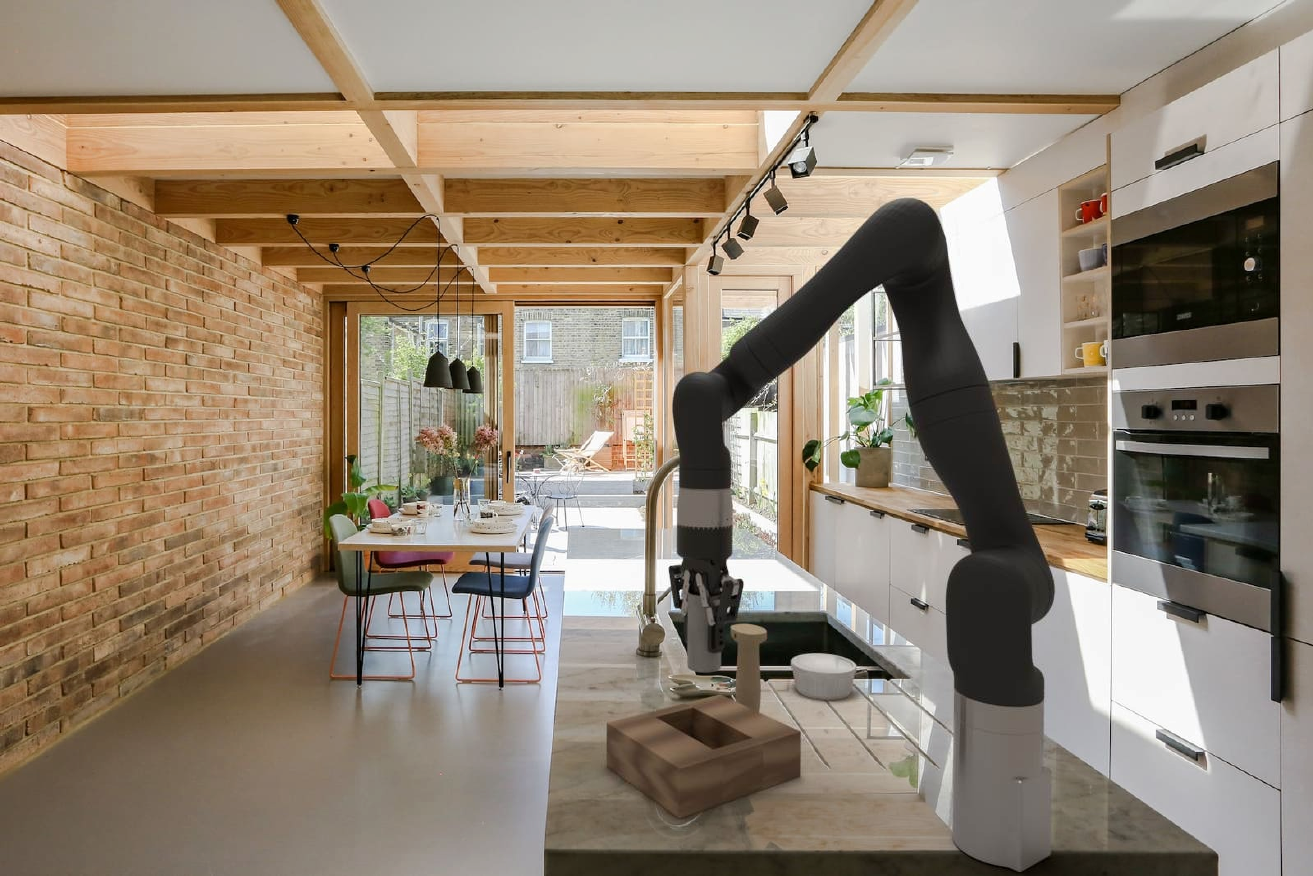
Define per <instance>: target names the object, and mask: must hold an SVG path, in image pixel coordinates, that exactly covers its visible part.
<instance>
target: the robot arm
mask: <svg viewBox="0 0 1313 876" xmlns="http://www.w3.org/2000/svg"><path fill="white" fill-rule="evenodd" d="M948 248H949V247H948V241H947V238H946V235H945V233H944V229H943V226H942V223H941V221H940V219H939V216H938V215H937V213H936V211H935V209H934V208H933V207H932V206H930V204H928V203H927V202H925V201H924V200H921V199H917V198H914V197H903V198H901V197H900V198H895V199H893V200H891V201H888V202H886V203H885V204H883V205H882V206H880V207H879V208H878V209H876V210H875V212H873V213H872V214H871V216H869V218H867V219H866V220H865V222H863V223H862V224H861V225H860V227H859V228H858V229H857V230H856V231H855V232H854V234H853V235H852V236H851V237H850V238H849V239H848V240H847V241H846V242H845V243H844V244H843V245H842V247H840V249H838V251H837V252H836V253H835V254H834V255H832V257H831V258H830V259H829V260H828V261H827V262H826V263H825V264H824V265H823V266H822V267H821V268H820V269H819V270H818V271H817V272H816V273H814V275H813V276H812V277H811V278H810V279H809V280H808V281H806V282H805V284H803V285H802V286H801V288H799V289H798V290H797V291H796V292H794V294H792V295H791V296H790V297H789V298H788V299H787V300H785V301H784V302H783V303H782V304H781V305H780V306H778V307H777V308H776V309H775V310H773V311H772V312H771V313H770V314H768V315H767V316H766V317H765V318H764V319H762V320H760V322H758V323H757V324H756V325H755V326H753V327H752V328H751V329H749V330H748V331H746V333H744V335H742V336H741V337H740V338H739V339H737V340H736V342H734V343H733V344H732V345H731V347H730V349H729V351H728V352H729V353H728V354H729V355H727V357H725V358H724V359H723V360H722V361H721V362H720V363H718V364H717V365H716V366H715V367H714V368H713V369H711V370H710V371H709V372H704V371H694V372H691V373H690V372H689V373H688V374H686V375H684V376H682V378H681V379H679V381H678V382H677V384H676V385H675V388H674V391H673V396H672V404H671V408H672V421H673V428H674V432H675V433H674V434H675V441H676V445H677V447H678V453H679V460H678V461H679V462H678V467H679V468H678V495H677V501H676V502H677V503H676V554H677V556H679V557H680V558H682V561H681V563H680V564H675V565H669V567H668V576H669V583H670V587H671V588H670V589H671V596H672V601H673V602H672V603H673V607H674V608H675V609H676V610H677V609H679V610H680V612H681V613H680V614H681V615H682V616H683V636H684V642H685V643H686V644H688V591H690V592H692V594H696V595H701V601H702V606H703V607H704V608H705V609H706V611H707V617H708V622H709V624H710V625H708V651H709V652H711V653H718V652H721V653H722V652H723V651H724V649H725V646H726V624H727V623H731V622H735V621H737V620H738V613H739V609H740V604H741V600H742V599H741V598H742V595H743V590H744V585H745V583H744V580H743V579H742V578H733V577H732V576H731V575H730V573H729V572H730V571H729V568H728V565H727V563H728V559H729V558H730V557H731V556H732V555H733V533H734V532H733V526H734V525H733V523H734V521H733V520H734V519H733V518H734V517H733V515H734V514H733V513H734V512H733V511H734V508H733V507H734V506H733V505H734V504H733V498H732V457H731V456H732V455H731V452H730V450H729V448H728V447H727V446H726V445H725V439H724V424H723V423H724V422H725V421H727V420H729V419H730V418H732V417H733V416H735V415H736V414H737V413H738V412H739V411H741V410H742V409H744V407H745V406H746V405H747V404H749V402H750V401H751V400H752V399H753V398H754V397H755V396H756V395H757V394H758V393H759V392H760V391H761V389H763V388H764V387H765V386H766V385H768V384H770V383H771V382H773V381H774V380H775V379H777V378H778V377H780V376H781V375H782V374H783V373H784V372H786V371H788V370H789V369H790V368H791V367H793V365H795V364H797V363H798V362H799V361H800V360H801V359H802V358H804V357H805V356H806V355H807V354H808V353H809V352H811V350H812V349H813V348H814V347H815V346H816V345H817V344H818V343H819V342H820V341H821V340H822V338H823V337H824V336H825V335H826V334H827V332H828V331H829V330H830V329H831V328H832V326H833V325H834V324H835V323H836V322H837V321H838V319H840V318H841V317H842V315H843V314H844V313H845V312H847V310H849V309H850V308H851V307H852V306H853V305H855V303H856V302H858V301H859V300H860V299H862V298H863V297H864V296H865V295H867V294H868V293H870V292H871V291H873V290H874V289H876V288H878V287H879V286H881V285H882V287H883V289H884V293H885V295H886V297H887V299H888V302H889V306H890V308H891V310H892V312H893V315H894V319H895V321H896V325H897V327H898V332H899V339H900V345H901V347H900V348H901V358H902V359H901V361H902V373H903V381H904V387H905V388H904V389H905V394H906V399H907V404H908V408H909V411H910V415H911V419H912V423H913V426H914V429H915V434H916V436H917V437H916V438H917V439H918V442H919V445H920V448H921V450H922V452H923V454H924V456H925V457H926V459H927V461H928V462H929V464H930V466H931V467H932V469H933V470H934V472H935V474H936V475H937V476H938V478H939V479H940V481H941V482H942V484H943V485H944V488H945V489H947V491H948V493H949V494H950V495H951V497H952V499H953V501H954V503H955V505H956V506H957V508H958V511H959V513H960V516H961V518H962V519H961V520H962V521H963V525H964V529H965V532H966V535H967V541H968V546H969V549H970V550H969V551H970V554H967V555H964V556H963V557H962V558H960V559H959V560H958V561H957V562H956V563H955V564H954V566H953V567H952V569H951V571H950V572H949V575H948V579H947V584H946V591H945V624H946V625H945V630H946V632H945V634H946V652H947V660H948V664H949V666H950V668H951V671H952V674H953V727H952V728H953V729H952V730H953V731H952V732H953V733H952V735H953V738H952V739H953V740H952V741H953V742H952V743H953V744H952V747H953V748H952V814H951V816H952V818H951V819H952V822H951V823H952V825H951V826H952V830H951V832H952V834H951V836H952V840H953V843H954V844H955V846H957V847H958V849H960V850H961V851H962V852H964V853H965V854H966V855H968V856H970V857H972V858H974V859H976V860H979V861H981V862H983V863H987V864H991V865H994V866H999V867H1006V868H1009V869H1012V870H1014V871H1015V872H1019V873H1022V872H1023V871H1025V870H1026V869H1028V868H1029V869H1030V867H1032V866H1034V865H1035V864H1037V863H1039V862H1041V861H1042V860H1044V859H1046V858H1048V857H1050V856H1051V851H1052V849H1051V846H1052V843H1051V842H1052V840H1051V839H1052V837H1051V836H1052V786H1053V785H1052V782H1053V781H1052V780H1053V779H1052V778H1053V776H1052V774H1053V772H1052V769H1051V768H1050V767H1048V766H1047V767H1046V766H1045V765H1044V748H1045V747H1044V742H1045V741H1044V740H1045V739H1044V734H1045V729H1044V728H1045V726H1044V725H1045V677H1044V675H1043V674H1044V673H1043V672H1042V671H1041V670H1040V669H1039V668H1038V667H1036V666H1035V665H1034V661H1033V634H1032V633H1033V632H1032V631H1033V630H1032V629H1033V628H1032V626H1033V625H1034V624H1037V623H1038V622H1040V621H1041V620H1043V618H1045V617H1046V616H1047V615H1048V613H1050V611H1051V609H1052V607H1053V605H1054V601H1055V593H1056V588H1055V587H1056V586H1055V580H1054V576H1053V573H1052V570H1051V568H1050V565H1049V563H1048V560H1047V557H1046V555H1045V553H1044V550H1043V548H1042V546H1041V544H1040V541H1039V538H1038V537H1037V534H1036V532H1035V530H1034V526H1033V525H1032V522H1031V519H1030V518H1029V517H1030V516H1029V515H1028V513H1027V510H1026V509H1027V508H1025V505H1024V501H1023V499H1022V495H1021V492H1020V489H1019V484H1018V482H1017V477H1016V473H1015V469H1014V467H1013V463H1012V459H1011V456H1010V453H1009V452H1010V451H1009V449H1008V446H1007V442H1006V439H1005V438H1006V437H1005V435H1004V432H1003V428H1002V423H1001V420H1000V417H999V413H998V409H997V405H996V402H995V399H994V395H993V393H992V389H991V386H990V381H989V380H988V379H989V378H988V377H987V375H986V370H985V369H984V366H983V364H982V361H981V359H980V356H979V352H978V351H977V349H976V347H975V345H974V342H973V340H972V338H971V337H970V334H969V332H968V330H967V329H966V326H965V324H964V321H963V318H962V317H961V313H960V310H959V307H958V303H957V299H956V294H955V288H954V283H953V278H952V277H953V276H952V273H951V272H952V271H951V265H950V259H949V249H948ZM680 591H681V593H680ZM719 594H720V599H719V600H714V601H712V600H711V599H710V597H712V596H718V595H719ZM715 606H718V607H719V608H718V613H717V615H715V609H714V607H715ZM728 609H729V611H728Z"/></svg>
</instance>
